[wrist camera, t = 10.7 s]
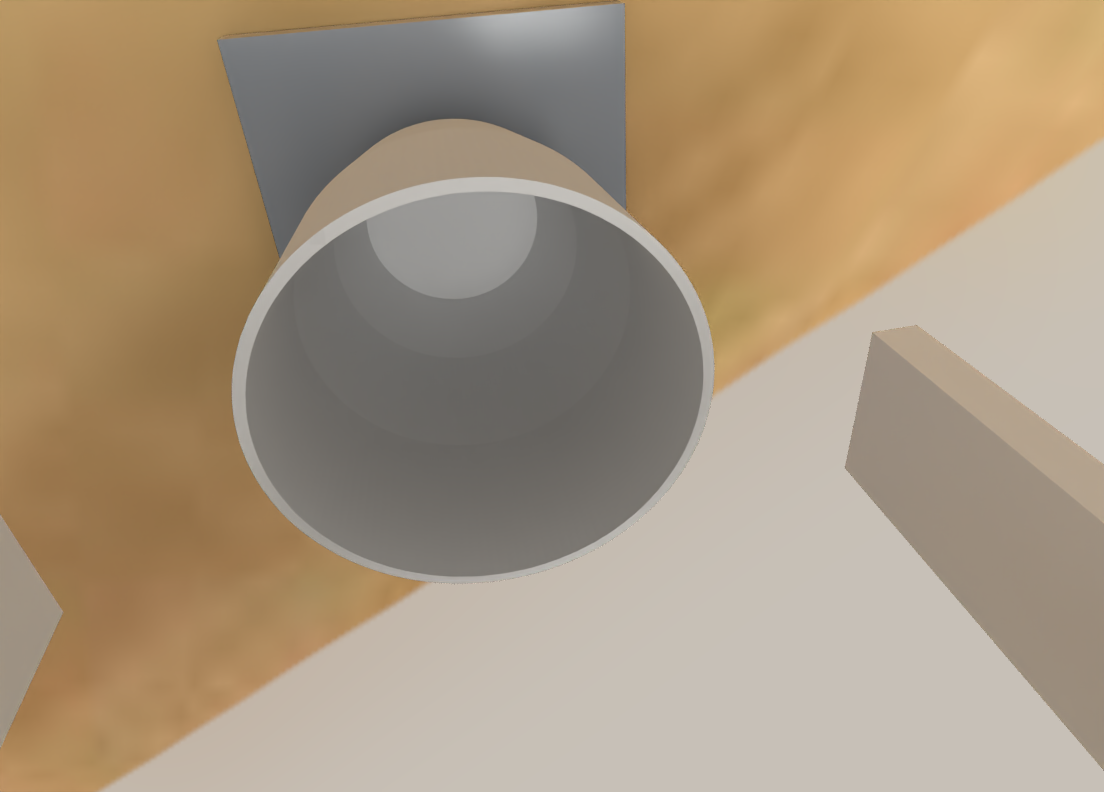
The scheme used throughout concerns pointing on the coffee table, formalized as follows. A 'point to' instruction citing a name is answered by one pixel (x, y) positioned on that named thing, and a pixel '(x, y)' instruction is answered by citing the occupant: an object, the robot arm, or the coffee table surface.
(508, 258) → the cup
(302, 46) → the coaster
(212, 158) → the coffee table surface
